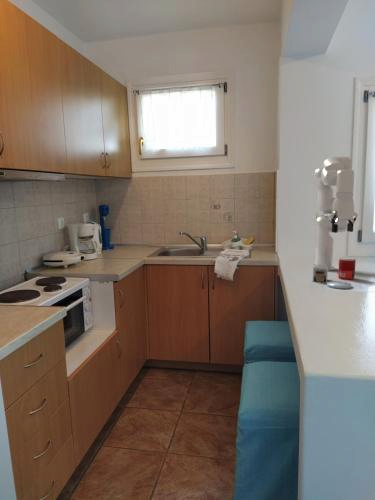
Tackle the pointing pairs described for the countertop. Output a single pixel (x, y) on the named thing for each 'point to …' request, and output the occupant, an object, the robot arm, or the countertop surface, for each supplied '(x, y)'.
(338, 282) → the dish
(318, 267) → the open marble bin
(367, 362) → the countertop surface
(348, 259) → the canned food
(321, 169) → the robot arm
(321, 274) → the block
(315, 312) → the countertop surface
